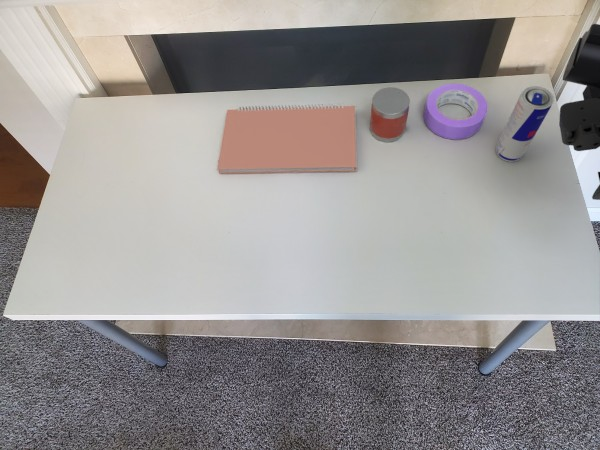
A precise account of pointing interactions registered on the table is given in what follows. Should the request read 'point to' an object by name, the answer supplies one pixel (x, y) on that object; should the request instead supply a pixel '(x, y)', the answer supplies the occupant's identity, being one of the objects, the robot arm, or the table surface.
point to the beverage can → (524, 122)
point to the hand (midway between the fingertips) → (590, 173)
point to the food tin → (389, 114)
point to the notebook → (289, 140)
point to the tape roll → (451, 126)
